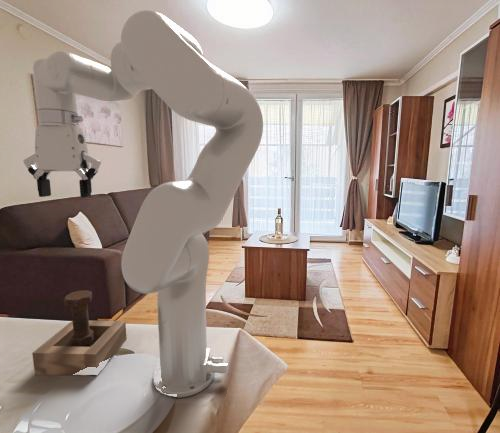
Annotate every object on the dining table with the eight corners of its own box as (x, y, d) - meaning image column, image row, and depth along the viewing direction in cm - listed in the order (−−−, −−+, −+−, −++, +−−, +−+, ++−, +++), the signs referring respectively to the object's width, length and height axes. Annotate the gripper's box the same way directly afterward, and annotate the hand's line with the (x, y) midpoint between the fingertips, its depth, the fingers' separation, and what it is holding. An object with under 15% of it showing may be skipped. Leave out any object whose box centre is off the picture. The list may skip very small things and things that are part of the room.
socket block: (126, 339, 74) (125, 321, 73) (97, 376, 61) (95, 354, 60) (75, 338, 75) (73, 320, 74) (34, 374, 61) (32, 352, 60)
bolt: (92, 345, 72) (87, 287, 69) (101, 353, 68) (96, 293, 66) (66, 356, 67) (59, 295, 65) (74, 366, 64) (68, 302, 62)
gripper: (105, 123, 69) (109, 195, 72) (33, 123, 69) (40, 194, 72) (87, 118, 62) (93, 198, 64) (6, 117, 62) (16, 197, 64)
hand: (65, 196), depth 68 cm, fingers open, 9 cm apart
